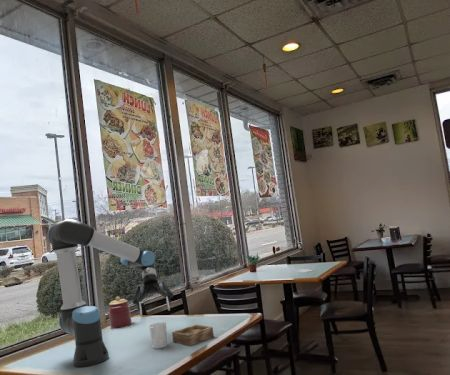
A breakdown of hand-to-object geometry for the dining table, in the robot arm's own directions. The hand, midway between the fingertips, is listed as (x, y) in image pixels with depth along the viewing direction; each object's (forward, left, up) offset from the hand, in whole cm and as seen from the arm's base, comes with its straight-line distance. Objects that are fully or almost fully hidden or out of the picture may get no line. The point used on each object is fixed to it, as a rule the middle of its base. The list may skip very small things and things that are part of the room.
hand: (155, 311), depth 200 cm
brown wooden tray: (+10, -16, -14) cm, 24 cm away
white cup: (-4, -9, -14) cm, 18 cm away
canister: (+7, +61, -14) cm, 63 cm away
